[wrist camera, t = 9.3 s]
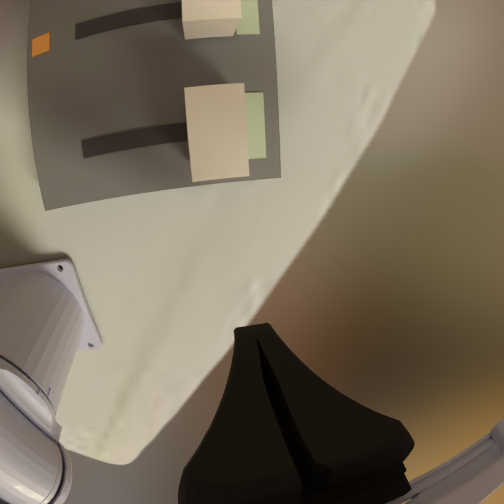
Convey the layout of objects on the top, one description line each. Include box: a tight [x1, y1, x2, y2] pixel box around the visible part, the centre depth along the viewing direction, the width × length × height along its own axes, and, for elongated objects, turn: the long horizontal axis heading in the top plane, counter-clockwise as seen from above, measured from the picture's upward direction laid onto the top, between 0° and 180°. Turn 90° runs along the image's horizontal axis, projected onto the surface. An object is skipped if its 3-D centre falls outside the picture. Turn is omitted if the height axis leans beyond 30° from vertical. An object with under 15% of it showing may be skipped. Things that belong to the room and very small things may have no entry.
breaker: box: [184, 83, 249, 182], centre depth 13 cm, size 2×4×3 cm, turn 3°
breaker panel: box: [27, 0, 281, 211], centre depth 12 cm, size 14×20×2 cm
